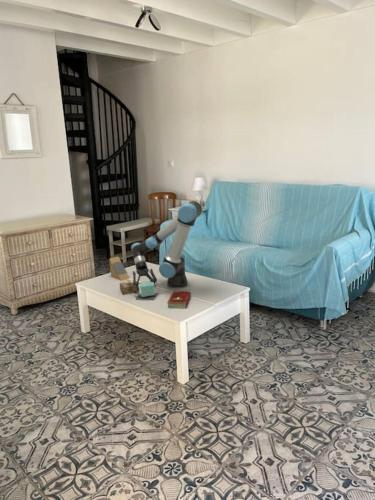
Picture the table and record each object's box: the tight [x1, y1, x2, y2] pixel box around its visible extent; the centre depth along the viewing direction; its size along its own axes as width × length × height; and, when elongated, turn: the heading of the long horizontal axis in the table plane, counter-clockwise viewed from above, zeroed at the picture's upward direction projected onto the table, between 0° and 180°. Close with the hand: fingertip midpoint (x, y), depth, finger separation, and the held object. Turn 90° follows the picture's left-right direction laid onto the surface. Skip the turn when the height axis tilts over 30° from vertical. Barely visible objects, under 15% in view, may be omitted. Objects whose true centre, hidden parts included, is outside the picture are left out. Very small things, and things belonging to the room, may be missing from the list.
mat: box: [135, 292, 159, 301], centre depth 269 cm, size 12×12×1 cm
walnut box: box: [119, 279, 139, 295], centre depth 280 cm, size 12×11×7 cm
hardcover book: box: [166, 290, 192, 309], centre depth 258 cm, size 12×21×4 cm, turn 172°
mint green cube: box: [138, 280, 156, 297], centre depth 268 cm, size 9×9×7 cm
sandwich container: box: [109, 256, 131, 282], centre depth 310 cm, size 9×15×15 cm, turn 42°
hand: (147, 292), depth 265 cm, fingers closed on mint green cube, 9 cm apart
